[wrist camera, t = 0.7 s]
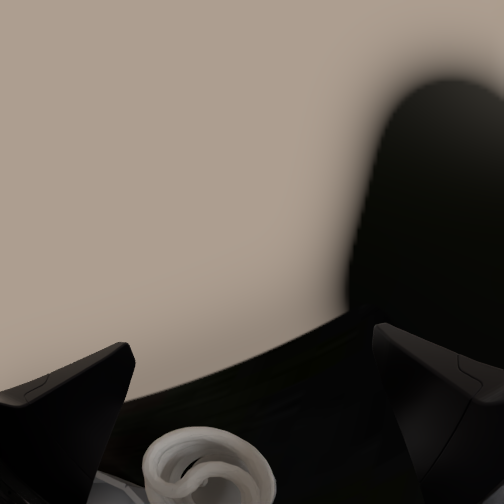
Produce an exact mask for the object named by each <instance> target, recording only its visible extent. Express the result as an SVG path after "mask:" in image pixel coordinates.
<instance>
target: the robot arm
mask: <svg viewBox="0 0 504 504" xmlns="http://www.w3.org/2000/svg"><path fill="white" fill-rule="evenodd" d="M372 349H373V353H374V357H375V360H376V363H377V367H378V370H379V374H380V377H381V381H382V384H383V387H384V389H385V392H386V394H387V397H388V399H389V401H390V404H391V406H392V409H393V411H394V414H395V416H396V419H397V422H398V424H399V427H400V429H401V432H402V435H403V437H404V440H405V443H406V445H407V448H408V451H409V454H410V457H411V460H412V462H413V465H414V468H415V471H416V474H417V477H418V481H419V483H420V487H421V491H422V494H423V497H424V501H425V504H504V370H502V369H499V368H496V367H492V366H489V365H486V364H483V363H480V362H477V361H475V360H472V359H469V358H467V357H464V356H462V355H460V354H459V355H457V353H455V352H452V351H450V350H448V349H445V348H443V347H440V346H438V345H436V344H433V343H431V342H429V341H426V340H424V339H422V338H419V337H417V336H415V335H412V334H410V333H408V332H405V331H403V330H401V329H398V328H396V327H394V326H391V325H389V324H387V323H383V324H378V325H375V327H374V332H373V343H372ZM134 368H135V358H134V356H133V353H132V351H131V348H130V345H129V344H128V343H126V342H118V343H115V344H113V345H111V346H109V347H107V348H104V349H102V350H100V351H98V352H96V353H94V354H91V355H89V356H87V357H85V358H83V359H80V360H78V361H76V362H74V363H72V364H69V365H67V366H65V367H63V368H60V369H58V370H56V371H54V372H51V373H50V374H47V375H45V376H42V377H40V378H37V379H35V380H32V381H30V382H27V383H24V384H22V385H19V386H16V387H13V388H11V389H7V390H4V391H1V392H0V504H87V501H88V498H89V494H90V491H91V488H92V485H93V481H94V479H95V476H96V473H97V470H98V467H99V464H100V462H101V459H102V456H103V453H104V451H105V448H106V445H107V443H108V440H109V437H110V435H111V432H112V430H113V427H114V425H115V422H116V420H117V417H118V415H119V412H120V410H121V407H122V405H123V402H124V400H125V397H126V394H127V391H128V388H129V385H130V381H131V378H132V375H133V372H134Z"/></svg>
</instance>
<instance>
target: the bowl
mask: <svg viewBox="0 0 504 504" xmlns="http://www.w3.org/2000/svg"><path fill="white" fill-rule="evenodd" d="M87 504H150V502H149V500H148V497H147V494H146V491H145V488H143V487H141V486H138V485H136V484H134V483H131V482H128V481H126V480H123V479H121V478H118V477H116V476H113V475H110V474H107V473H104V472H101V471H98V470H97V473H96V476H95V479H94V481H93V485H92V488H91V491H90V494H89V498H88V501H87Z"/></svg>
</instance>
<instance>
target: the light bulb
mask: <svg viewBox="0 0 504 504" xmlns="http://www.w3.org/2000/svg"><path fill="white" fill-rule="evenodd" d="M200 457H202V458H200ZM198 458H200V459H199V460H198V461H197V462H196V463H194V465H193V466H192V468H191V469H190V470H188V471H187V473H186V474H185V475H184V477H183V478H182V479H180V478H181V475H182V473H183V471H184V470H185V469H186V468H187V466H188V465H189V464H190V463H192V462H193V461H195V460H196V459H198ZM142 470H143V474H144V478H145V491H146V494H147V497H148V500H149V502H150V504H272V503H273V501H274V498H275V495H276V479H275V478H274V476H273V474H272V471H271V468H270V466H269V464H268V462H267V461H266V460H265V458H264V457H263V456H262V455H261V453H260V452H259V451H258V450H257V449H256V448H255V447H253V446H252V445H251V444H249V443H248V442H246V441H244V440H242V439H241V438H239V437H238V436H235V435H233V434H231V433H229V432H227V431H223V430H219V429H216V428H210V427H186V428H182V429H177V430H174V431H172V432H169V433H167V434H165V435H163V436H162V437H160V438H158V439H157V440H155V441H154V442H153V443H152V444H151V445H150V446H149V447H148V449H147V451H146V453H145V454H144V456H143V463H142Z"/></svg>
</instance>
